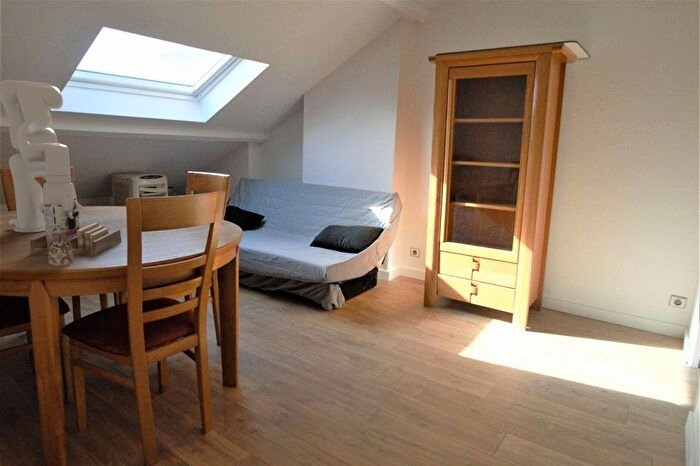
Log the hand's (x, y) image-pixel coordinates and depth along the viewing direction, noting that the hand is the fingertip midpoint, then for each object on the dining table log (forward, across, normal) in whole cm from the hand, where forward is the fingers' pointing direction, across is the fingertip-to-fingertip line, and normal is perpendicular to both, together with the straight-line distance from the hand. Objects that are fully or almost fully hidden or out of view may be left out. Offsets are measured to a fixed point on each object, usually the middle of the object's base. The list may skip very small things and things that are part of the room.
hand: (62, 228), depth 171 cm
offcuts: (+7, +11, 0) cm, 13 cm away
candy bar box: (+7, 0, 0) cm, 7 cm away
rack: (+7, +5, 0) cm, 9 cm away
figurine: (+7, +9, -20) cm, 23 cm away
